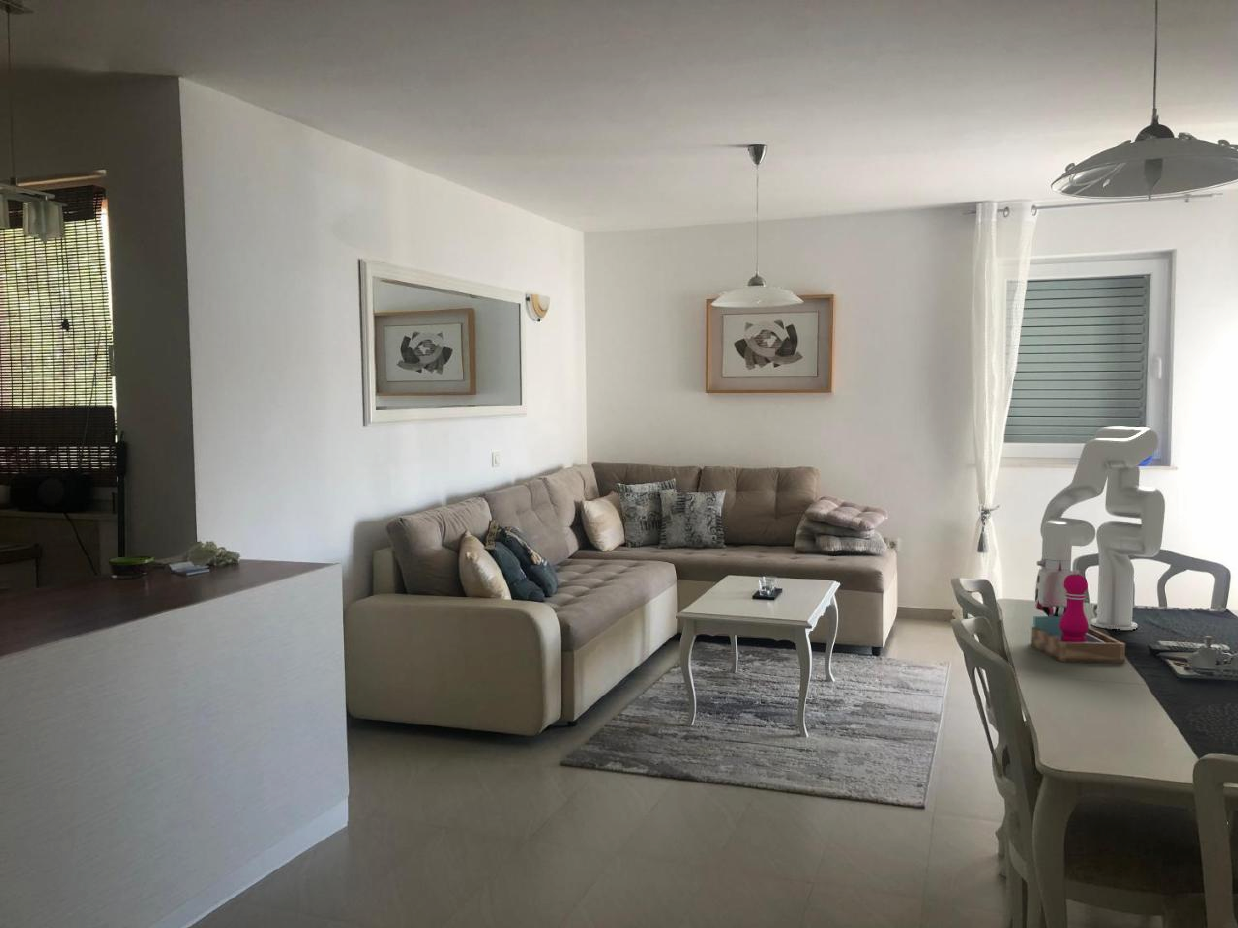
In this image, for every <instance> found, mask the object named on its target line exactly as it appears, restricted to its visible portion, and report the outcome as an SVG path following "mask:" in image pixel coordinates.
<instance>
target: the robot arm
mask: <svg viewBox="0 0 1238 928" xmlns="http://www.w3.org/2000/svg"><path fill="white" fill-rule="evenodd" d="M1158 446H1159V437H1158V433H1157V432H1156V431H1155V430H1154V429H1152V428H1149V427H1145V426H1143V427H1140V426H1139V427H1138V426H1137V427H1136V426H1104V427H1101V428H1099V429H1097V430H1096V432H1095V435H1094V438H1092V439H1090V440H1088V441H1087V442H1085V444H1084V446H1083V449H1082V451H1081V454H1080V458H1079V460H1078V463H1077V466H1076V469H1075V471H1074V475H1073V477H1072V478H1073V479H1071V480H1072V481H1071V482H1070V484H1069V485H1067V486H1066V487H1064V488H1063V489H1061V490H1060V491H1059V492H1058V493H1057V494H1056V495H1055V496H1053V498H1052V499H1050V501H1049V503H1048V504H1047V506H1046V508H1045V510H1044V513H1043V516H1042V519H1041V523H1040V527H1039V530H1040V531H1039V532H1040V536H1041V539H1042V541H1041V542H1042V544H1041V546H1042V547H1041V558H1040V560H1037V561H1036V566H1038V567H1040V568H1039V569H1038V573H1037V575H1036V580H1035V587H1034V602H1035V603H1034V608H1035V609H1037V610H1040V611H1042V612H1043V613H1045V614H1046V616H1055V617H1062V616H1063V614H1064V612H1065V610H1066V605H1067V598H1065V596H1066V594H1065V592H1067V591H1066V589H1065V588H1064V586H1063V583H1064V580H1065V578H1066V577H1067V576H1069V575H1073V570H1071V569H1072V548H1073V547H1081V548H1082V547H1087V546H1089V545H1091V544H1092V543H1093V542H1094V540H1095V538H1096V545H1097V546H1096V547H1097V551H1098V573H1097V574H1098V576H1097V577H1098V578H1097V599H1096V601H1097V602H1096V609H1095V610H1094V612H1095V614H1096V618H1095V617H1094V618H1092V619H1091V620H1090V624H1091V625H1092V626H1093V627H1097V628H1100V629H1105V628H1106V629H1107V630H1112V629H1117V630H1116V631H1133V629H1135V630H1137V629H1138V628H1139V627H1138V626H1139V625H1138V623H1137V622H1134V621H1133V606H1134V585H1135V583H1134V582H1135V581H1134V580H1135V568H1134V565H1133V562H1132V561H1131V559H1130V558H1129V556H1135V557H1143V558H1144V557H1145V558H1153V557H1155V556H1157V555H1158V553H1159V552H1160V550H1161V547H1162V542H1163V533H1164V524H1165V512H1166V500H1165V497H1164V494H1163V493H1162V492H1161V491H1160V490H1159V489H1157V488H1155V487H1149V486H1148V487H1147V486H1140V473H1141V470H1140V466H1139V465H1140V464H1141V463H1142V462H1144V461H1146V460H1147V459H1149V458H1150V457H1151V456H1153V455H1154V454H1155V453H1156V451H1157V448H1158ZM1105 487H1106V490H1105V491H1106V493H1105V503H1104V504H1105V511H1106V512H1107V513H1108V514H1109V515H1111V516H1114V517H1118V518H1127V519H1135V520H1137V519H1139V520H1140V522H1141V523H1138V522H1137V523H1135V522H1128V521H1118V520H1111V521H1109V520H1108V521H1105V522H1103V523H1101V524H1100V525H1099V526H1098V527H1097V529H1095V527H1094V525H1093V524H1092V523H1091V522H1089V521H1087V520H1083V519H1076V518H1068V517H1067V518H1066V517H1062V516H1063V515H1064V513H1065V512H1066V511H1068V509H1069V508H1071V507H1073V506H1075V505H1076V504H1080V503H1081V502H1085V501H1088V500H1090V499H1094V498H1096V497H1098V496H1100V495H1102V493H1103V492H1104V489H1105ZM1054 608H1055V609H1054ZM1137 627H1138V628H1137ZM1136 628H1137V629H1136ZM1106 629H1105V630H1106ZM1118 629H1120V630H1118Z"/></svg>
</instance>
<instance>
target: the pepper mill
mask: <svg viewBox="0 0 1238 928" xmlns="http://www.w3.org/2000/svg"><path fill="white" fill-rule="evenodd" d="M1072 571H1073V575H1069V576H1067V577H1066V578H1065V580H1064V583H1063V586H1064V588H1065V589H1066V591H1067V592H1065V594H1066V596H1065V598H1067V605H1066V610H1065V612H1064V614H1063V616H1062V618H1061V620H1060V625H1059V628H1060V630H1061V631H1062V632H1063V634H1062V635H1061V641H1063V642H1086V637H1085V636H1084V635H1085V634H1086V633H1087V632H1088V631H1089V628H1090V626H1089V625H1090V624H1089V620H1088V618H1087V617H1086V613H1085V610H1084V600H1086V593H1085V592H1086V591H1087V590H1088V588H1089V583H1088V580H1087V578H1085V576H1083V575H1080V573H1081V572H1080V570H1079V569H1078V568H1075V569H1073V570H1072Z"/></svg>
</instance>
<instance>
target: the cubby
mask: <svg viewBox="0 0 1238 928" xmlns="http://www.w3.org/2000/svg"><path fill="white" fill-rule="evenodd" d="M1087 633H1088V634H1090V635H1092V636H1094V637H1096V638H1098V639H1100V640H1102V641H1104V642H1106V643H1095V642H1063V641H1061V640H1059V639H1057V638H1055V637H1053V636H1052V635H1050V634H1048V633H1046V632H1044V631H1042V630H1040V629H1038V628H1037V627H1033V626H1032V627H1031V636H1030V646H1031V647H1033V648H1035V649H1037V650H1039V651H1040V652H1042V653H1044V654H1046V655H1047V656H1049V657H1051V658H1053V659H1054V660H1055V661H1058V662H1059V663H1071V664H1072V663H1075V664H1076V663H1077V664H1078V663H1083V664H1085V663H1086V664H1094V663H1095V664H1125V660H1126V659H1125V656H1126V654H1125V653H1126V643H1125V642H1122V641H1120V640H1118V639H1116V638H1114V637H1112V636H1110V635H1107V634H1105V633H1103V632H1100V631H1099V630H1097V629H1095V628H1093V627H1089V631H1088V632H1087Z"/></svg>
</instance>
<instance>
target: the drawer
mask: <svg viewBox="0 0 1238 928" xmlns="http://www.w3.org/2000/svg"><path fill="white" fill-rule="evenodd" d="M1061 618H1062V617H1055V616H1048V615H1046V616H1043V615H1041V616H1036V615H1035V616H1033V617H1032V627H1037V628H1038V629H1040V630H1042V631H1044V632H1046V633H1048V634H1050V635H1052V636H1053V637H1055V638H1057V639H1059V640H1061V635H1062V634H1063V632H1062V631H1061V630H1060V628H1059V625H1060V620H1061ZM1084 636H1085V637H1086V642H1095V643H1106V642H1104V641H1102V640H1100V639H1098V638H1096V637H1094V636H1092V635H1090V634H1088V633H1086V634H1085V635H1084Z"/></svg>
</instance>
